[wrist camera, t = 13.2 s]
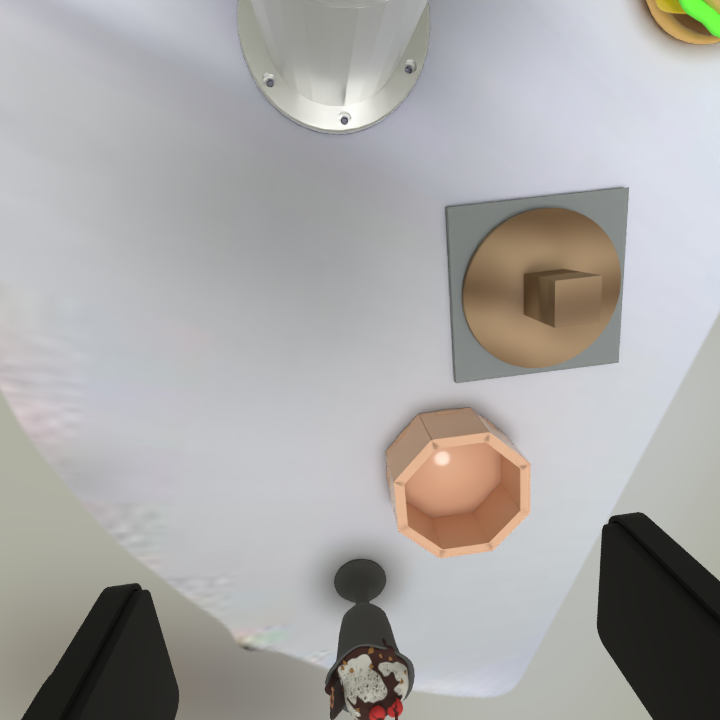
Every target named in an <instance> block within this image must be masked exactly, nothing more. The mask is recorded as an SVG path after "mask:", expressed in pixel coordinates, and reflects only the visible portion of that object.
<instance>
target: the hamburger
mask: <svg viewBox="0 0 720 720" xmlns="http://www.w3.org/2000/svg"><path fill="white" fill-rule="evenodd" d="M646 2H647V4H648V7H649V9H650V11H651V14H652V15H653V17H654V18H655V20H656V21H657V23H658V24H659V25H660V26H661V27H662V28H663V29H664V30H665V31H666V32H667V33H669V34H670V35H672V36H673V37H675V38H676V39H679V40H682V41H685V42H688V43H693V44H712V43H717V42H720V0H646Z"/></svg>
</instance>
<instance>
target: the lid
mask: <svg viewBox="0 0 720 720" xmlns="http://www.w3.org/2000/svg"><path fill="white" fill-rule="evenodd" d="M620 286H621V270H620V262H619V259H618V255H617V252H616V250H615V247H614V245H613V243H612V241H611V240H610V238H609V237H608V235H607V234H606V233H605V231H604V230H603V229H602V228H601V227H600V226H599V225H598V224H597V223H595V222H594V221H593V220H591V219H590V218H588V217H586V216H585V215H583V214H580V213H578V212H575V211H571V210H568V209H561V208H543V209H535V210H530V211H526V212H523V213H520V214H517V215H515V216H513V217H511V218H509V219H507V220H505V221H504V222H502V223H501V224H499V225H498V226H497V227H495V228H494V229H493V230H492V231H491V232H490V233H489V234H488V235H487V236H486V237H485V238H484V239H483V240H482V241H481V243H480V244H479V245H478V247H477V248H476V250H475V251H474V253H473V255H472V257H471V259H470V261H469V263H468V266H467V268H466V272H465V275H464V279H463V285H462V307H463V312H464V317H465V320H466V323H467V325H468V328H469V329H470V331H471V333H472V335H473V336H474V338H475V339H476V340H477V341H478V343H479V344H480V345H481V346H482V347H483V348H484V349H485V350H487V351H488V352H489V353H491V354H492V355H493V356H495V357H496V358H498V359H500V360H502V361H503V362H505V363H508V364H511V365H514V366H518V367H523V368H544V367H549V366H554V365H557V364H560V363H563V362H565V361H567V360H569V359H572V358H573V357H575V356H577V355H578V354H580V353H581V352H583V351H584V350H585V349H586V348H588V347H589V346H590V345H591V344H592V343H593V342H594V341H595V340H596V339H597V338H598V337H599V336H600V334H601V333H602V332H603V331H604V329H605V327H606V326H607V324H608V323H609V321H610V319H611V317H612V315H613V313H614V311H615V308H616V305H617V302H618V298H619V294H620Z"/></svg>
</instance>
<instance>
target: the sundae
mask: <svg viewBox="0 0 720 720" xmlns="http://www.w3.org/2000/svg"><path fill="white" fill-rule="evenodd" d="M334 584H335V588H336V591H337V592H338V593H339V595H340V596H341V597H343V598H344V599H346V600H349V601H351V602H356V605H355V606H353V607H352V608H351V609H350V610H348V611H347V612H346V614H345V615H344V617H343V620H342V624H341V629H340V634H339V642H338V652H337V659H336V662H335V664H334V665H333V666H332V668H331V669H330V670H329V672H328V675H327V677H326V681H325V684H326V687H325V692H326V693H327V694H328V695H330V718H331V720H334V719H335V718H336V717H337V715H338V714H339V713H340V712H341V711H342V709H343V710H345V711H347V712H349V713H350V714H351V716H352V717H353V718H354V719H355V720H384V719H385V717H386V716H387V715H389V716H391V717H395V720H398V716H399V715H400V714H401V712H402V711H403V706H402V702H403V701H404V700H405V699H406V698H407V696H408V695H409V693H410V692H411V690H412V686H413V683H414V667H413V664H412V662H411V661H410V660H409V659H408V658H407V657H406V656H404V655H402V654H401V653H400V652H399V650H398V648H397V645H396V643H395V639H394V636H393V633H392V629H391V626H390V623H389V621H388V619H387V616H386V614H385V612H384V611H383V610H382V609H381V608H379V607H377V606H375V605H373V604H370V603H369V601H370V600H372V599H374V598H375V597H377V596H378V595H379V594H380V593H381V592H382V590H383V589H384V587H385V584H386V576H385V573H384V570H383V569H382V568H381V567H380V566H379V565H378V564H376V563H374V562H372V561H370V560H355V561H351V562H349V563H347V564H345V565H344V566H343V567H341V568H340V570H339V571H338V572H337V574H336V577H335V582H334Z"/></svg>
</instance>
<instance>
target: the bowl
mask: <svg viewBox="0 0 720 720" xmlns="http://www.w3.org/2000/svg"><path fill="white" fill-rule="evenodd" d="M386 462H387V466H386V472H387V479H388V484H389V492H390V498H391V502H392V506H393V511H394V515H395V519H396V523H397V527H398V531H399V532H401V533H402V534H404V535H405V536H407V537H408V538H410V539H411V540H413V541H414V542H416V543H417V544H419V545H420V546H422V547H423V548H425V549H426V550H428V551H429V552H431V553H432V554H434V555H435V556H437V557H438V558H445V557H452V556H459V555H466V554H473V553H480V552H487V551H492V550H494V549H495V548H496V547H497V546H498V545H499V544H500V543H501V542H502V541H503V540H504V539H505V538H506V537H507V536H508V535H509V534H510V533H511V532H512V531H513V530H514V529H515V528H516V527H517V526H518V525H519V524H520V523H521V522H522V521H523V520H524V518H525V517H526V516H527V515H528V514H529V513H530V463H529V462H528V461H527V459H526V458H525V457H524V456H523V455H522V454H521V452H520V451H519V450H518V449H517V448H516V447H515V446H514V444H513V443H512V442H511V441H510V440H509V439H508V438H507V436H506V435H504V434H503V433H502V432H501V431H499V430H498V429H497V428H496V427H495V426H494V425H493V424H492V423H491V422H489V421H488V420H487V419H485V418H484V417H482V416H480V415H479V414H478V413H476V412H475V411H474V410H473V409H471V408H469V407H468V408H460V409H444V410H439V411H434V412H429V413H421V414H418V415H417V416H416V417H415V418H414V419H413V421H412V422H411V423H410V424H409V425H408V426H407V427H406V428H405V429H404V430H403V431H402V432H401V433H400V434H399V435H398V437H397V438H396V440H395V441H394V442H393V443H392V445H391V446H390V447H389V448H388V449H387V450H386Z"/></svg>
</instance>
